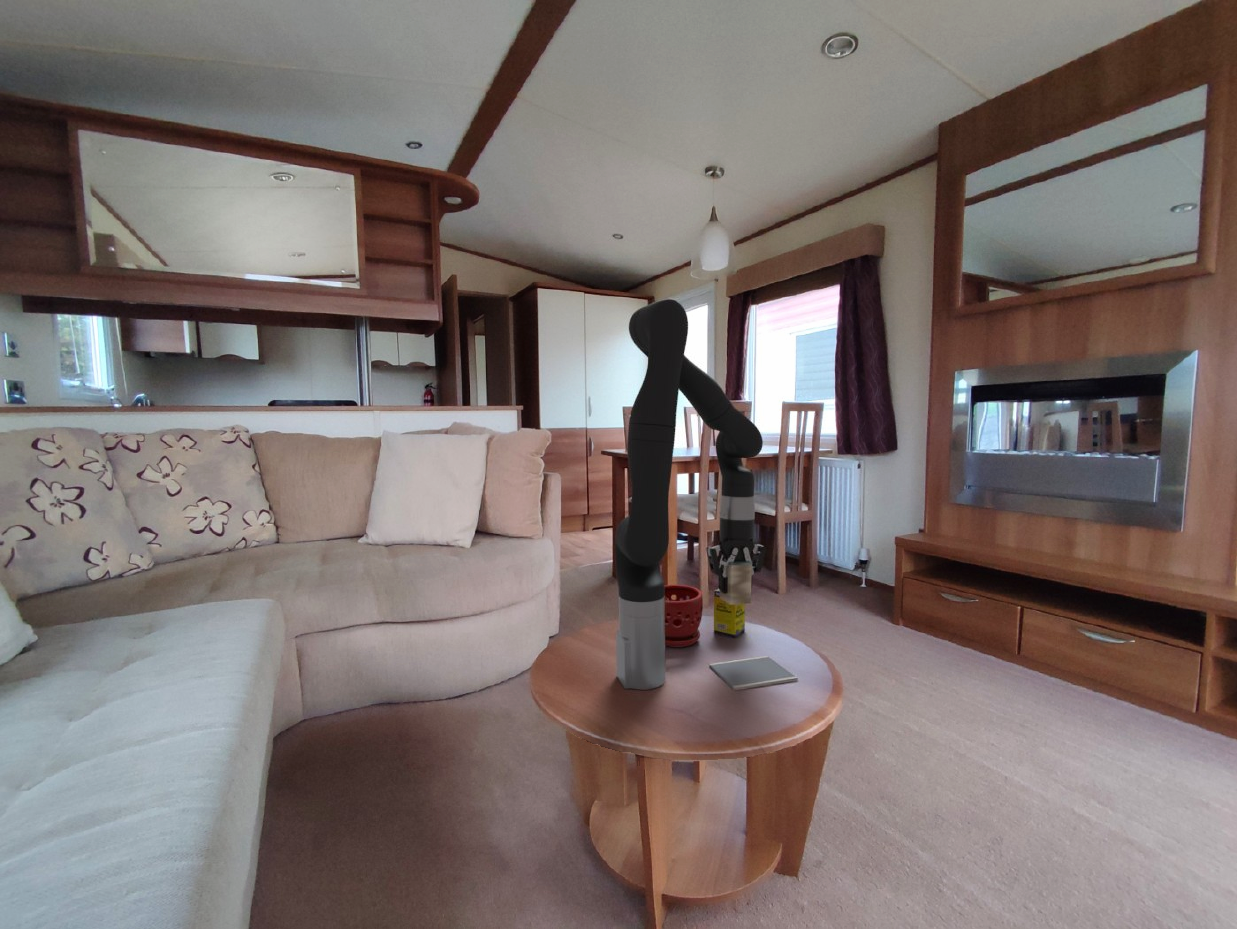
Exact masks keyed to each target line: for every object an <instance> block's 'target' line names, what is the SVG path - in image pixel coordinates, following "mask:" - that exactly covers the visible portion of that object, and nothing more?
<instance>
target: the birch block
mask: <svg viewBox="0 0 1237 929" xmlns="http://www.w3.org/2000/svg"><path fill="white" fill-rule="evenodd" d="M720 560H721V558H720ZM724 562H727V560H724ZM751 576H752V562H745V561H740V562H739V561H738V562H733V563H730V565H729V568H728V575H727V577H728V592H727V594H723V593H722V592H721V591H720V599H722V600H723V601H725V602H727V603H728V604H730V605H734V604H745V605H746V604H751V603H752V589H751ZM752 577H753V576H752Z"/></svg>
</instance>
